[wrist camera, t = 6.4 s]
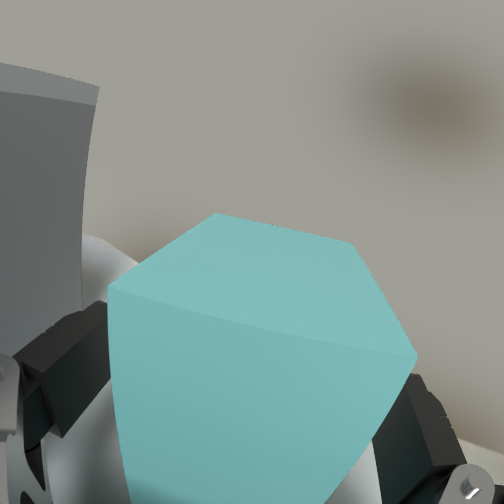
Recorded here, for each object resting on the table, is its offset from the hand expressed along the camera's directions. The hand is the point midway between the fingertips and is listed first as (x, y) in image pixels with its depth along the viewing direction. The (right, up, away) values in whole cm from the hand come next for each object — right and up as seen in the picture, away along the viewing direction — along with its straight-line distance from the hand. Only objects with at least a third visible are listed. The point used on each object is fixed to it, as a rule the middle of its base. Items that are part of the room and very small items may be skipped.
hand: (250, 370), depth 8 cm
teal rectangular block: (-1, -6, 0) cm, 6 cm away
